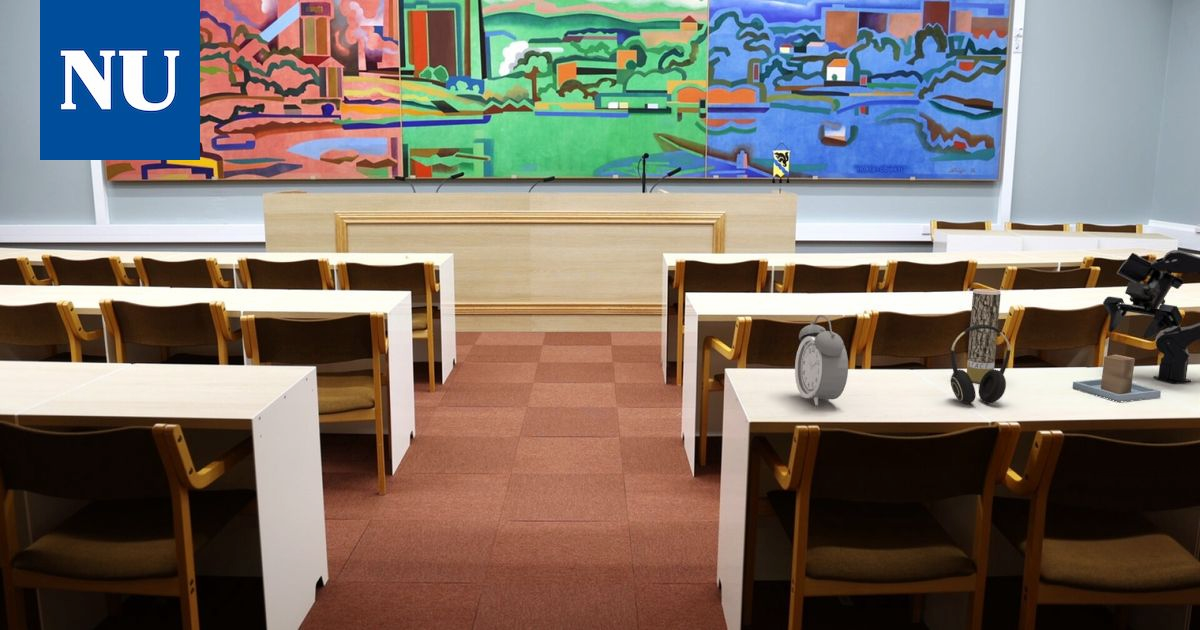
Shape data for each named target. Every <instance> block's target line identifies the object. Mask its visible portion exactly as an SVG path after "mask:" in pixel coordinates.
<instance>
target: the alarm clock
mask: <svg viewBox="0 0 1200 630" xmlns="http://www.w3.org/2000/svg"><path fill="white" fill-rule="evenodd" d="M819 318H824V319H825V320H826V321H827V322H828V325H829V326H828V327H829V330H826V328H825V327H824V326H821V325H819V324H817V322H818V319H819ZM798 339H799V341H800V343H799V346H798V349H797V351H796V356H795V363H794V364H795V365H794V377H795V383H796V387H797V390H798V392H799V394H800V395H801V396H803V397H802V398H805V399H813V401H814V406H815V405H819V399H820V400H826V401H827V400H829V401H830V400H836V399H838V398H839V397H840V396H841V395H842V394H843V392H844V390H845V388H846V385H847V381H848V377H849V376H848V375H849V358H848V354H847V350H846V346H845V344H844V340H843V339H842V336H840V335H839V334H838V333H835V331H833V330H832V324H831V320H830V319H829V318H828V316H826V315H823V314H820V315H817V316H816V318H815V320H814V322H810V324H808V325H806V326H804V327H803V328H801V330H800V332H799V334H798Z"/></svg>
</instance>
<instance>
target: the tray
mask: <svg viewBox="0 0 1200 630" xmlns="http://www.w3.org/2000/svg"><path fill="white" fill-rule="evenodd" d="M1101 382H1102V378H1100V379H1097V378H1096V379H1088V380H1079V381H1078V380H1077V381H1072V389H1073V390H1077V391H1079V390H1080V392H1083V393H1086V392H1087V393H1086V394H1089V393H1090V394H1089V395H1092V394H1094V395H1093V396H1096V395H1097V396H1096V397H1099V396H1101V397H1100V398H1102V397H1105V398H1108V399H1111V400H1110V401H1112V400H1114V401H1113V402H1115V401H1117V402H1116V403H1118V402H1119V403H1122V402H1121V401H1127V402H1132V401H1131V400H1136V401H1141V400H1140V399H1145V400H1152V399H1153V398H1154V399H1160V398H1161V395H1162V391H1161V390H1160V389H1154V388H1152V387H1149V386H1144V385H1141V384H1137V383H1134V382H1132V387H1131V392H1129V393H1125V394H1115V393H1112V392H1109V391H1105V390H1102V389H1101ZM1105 398H1104V399H1105ZM1108 399H1107V400H1108Z"/></svg>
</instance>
